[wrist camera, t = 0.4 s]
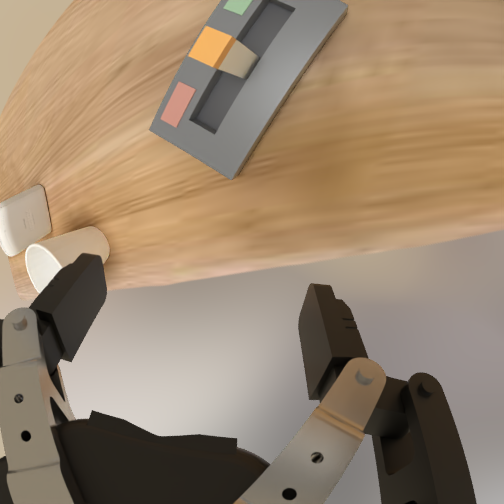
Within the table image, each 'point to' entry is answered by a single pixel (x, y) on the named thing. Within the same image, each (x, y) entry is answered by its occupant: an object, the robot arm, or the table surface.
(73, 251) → the cup
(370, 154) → the table surface
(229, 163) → the slotted lever switch base
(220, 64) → the handle
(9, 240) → the photo printer
